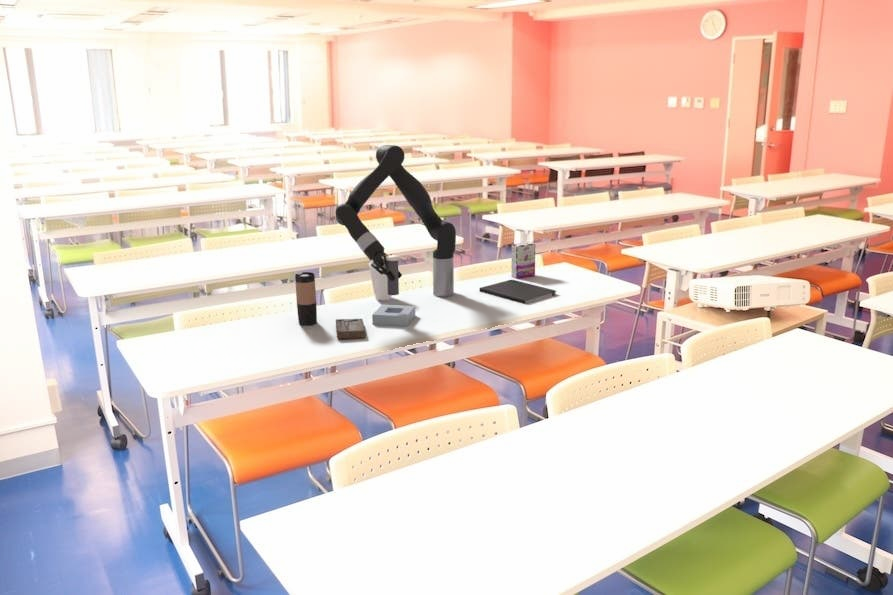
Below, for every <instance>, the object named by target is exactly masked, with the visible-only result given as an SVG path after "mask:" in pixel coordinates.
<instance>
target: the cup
mask: <svg viewBox="0 0 893 595" xmlns="http://www.w3.org/2000/svg"><path fill="white" fill-rule="evenodd" d="M373 262H374V261H373V260H372V261H370V262H368V266H369V274H370V278H371V283H372V284H371V285H372V289H373V294H374V295H375V300H377V301H389V300H391V299H392V295H388V283H387V275H384V274H380V273H379V272H378V271H377V270H376V269H375V268H373V267H372V266H371V264H372V263H373ZM379 269H380V268H379ZM381 271H382V270H381Z"/></svg>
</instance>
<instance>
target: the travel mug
mask: <svg viewBox="0 0 893 595" xmlns="http://www.w3.org/2000/svg"><path fill="white" fill-rule="evenodd" d="M294 279H295V280H294V281H295V295H296V298H295V300H296V308H297V319H298V324H299V325H300V326H304V327H305V326H306V327H307V326H313V325H314V326H315V325H316V324H317V323H318V322H317V321H318V319H317V317H318V314H317V309H318V308H317V291H316V279H315V273H313V272H310V271H309V272H308V271H303V272H301V273H299V274H298V273H295V278H294Z"/></svg>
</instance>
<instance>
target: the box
mask: <svg viewBox="0 0 893 595" xmlns="http://www.w3.org/2000/svg"><path fill="white" fill-rule="evenodd" d="M335 332H336V337H337V339H339V340H340V339H341V340H345V339H348V340H350V339H353V340H354V339H365V338H366V328H365V324H364V319H363V318H340V319H339V318H337V319H335Z"/></svg>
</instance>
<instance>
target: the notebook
mask: <svg viewBox="0 0 893 595" xmlns="http://www.w3.org/2000/svg"><path fill="white" fill-rule="evenodd" d="M479 292H480V293H484V294H487V295H491V296H494V297H498V298H501V299H506V300H509V301H513V302H516V303H520V304H523V305H527V304H530V303H533V302H536V301H540V300H544V299H547V298H550V297H555V296H556V294H557V290H556V289H551V288H548V287H547V288H546V287H542V286H540V285H536V284H531V283H529V282H524V281H519V280H516V279H509V280H505V281H500V282H497V283H494V284H489V285H486V286H482V287H479Z"/></svg>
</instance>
